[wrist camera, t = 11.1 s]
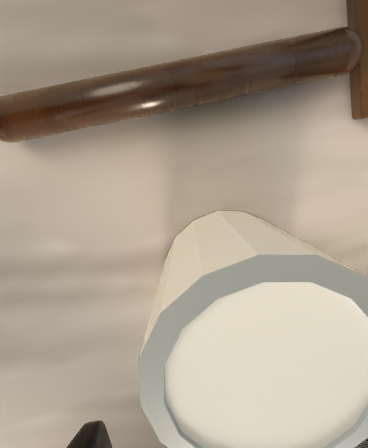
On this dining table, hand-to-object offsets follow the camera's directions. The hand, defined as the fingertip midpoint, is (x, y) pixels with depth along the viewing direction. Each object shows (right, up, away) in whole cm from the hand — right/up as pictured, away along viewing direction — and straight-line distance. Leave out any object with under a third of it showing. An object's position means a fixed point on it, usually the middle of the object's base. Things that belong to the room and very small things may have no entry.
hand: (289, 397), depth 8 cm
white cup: (-1, +2, +7) cm, 8 cm away
